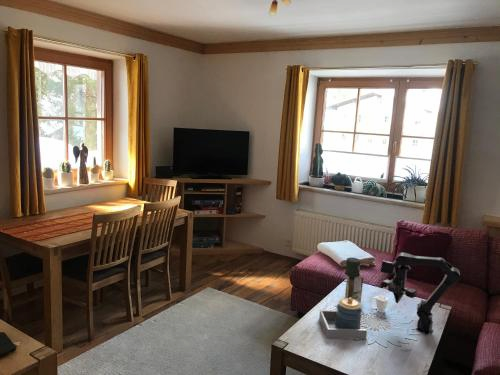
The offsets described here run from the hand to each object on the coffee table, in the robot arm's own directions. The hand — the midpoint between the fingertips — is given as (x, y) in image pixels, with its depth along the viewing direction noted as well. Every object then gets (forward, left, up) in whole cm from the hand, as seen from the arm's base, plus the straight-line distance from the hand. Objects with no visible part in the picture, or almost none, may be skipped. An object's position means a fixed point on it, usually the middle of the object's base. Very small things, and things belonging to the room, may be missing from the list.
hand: (397, 302), depth 219 cm
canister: (+12, +26, -12) cm, 32 cm away
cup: (+14, -6, -12) cm, 20 cm away
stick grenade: (+26, +6, -12) cm, 29 cm away
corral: (+14, +29, -12) cm, 34 cm away
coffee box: (+31, -5, -12) cm, 34 cm away
